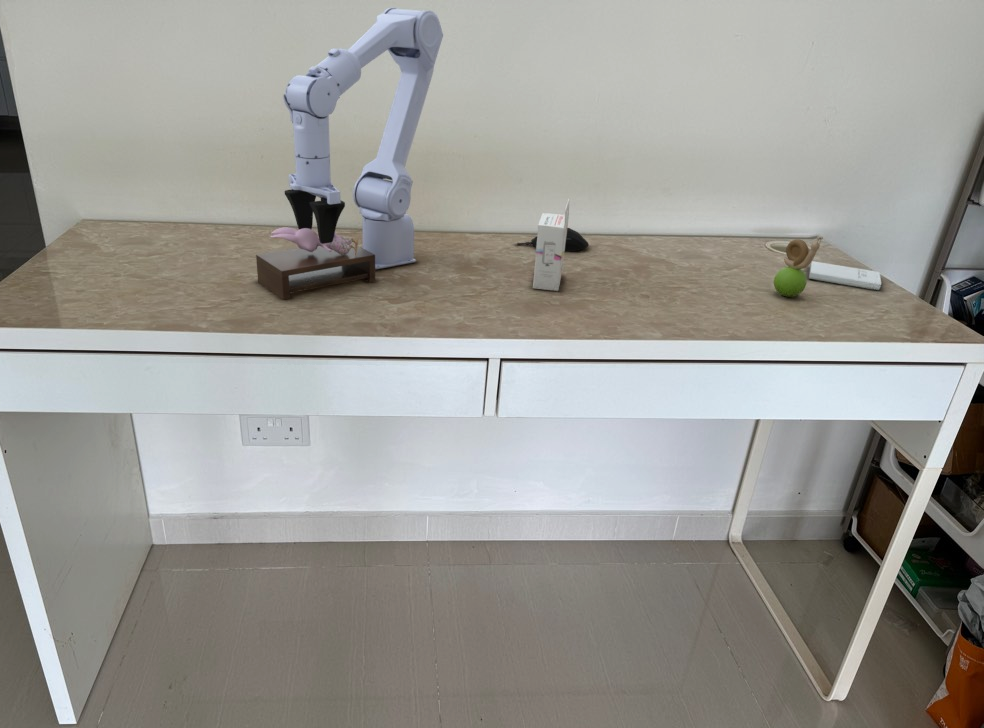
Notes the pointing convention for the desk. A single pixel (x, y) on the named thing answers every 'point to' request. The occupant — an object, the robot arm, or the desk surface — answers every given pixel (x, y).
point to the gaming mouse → (567, 241)
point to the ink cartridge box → (550, 250)
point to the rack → (312, 269)
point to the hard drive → (845, 275)
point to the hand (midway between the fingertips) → (315, 236)
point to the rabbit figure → (314, 240)
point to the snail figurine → (795, 268)
